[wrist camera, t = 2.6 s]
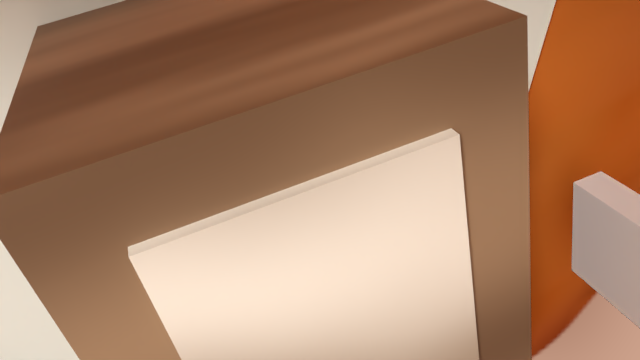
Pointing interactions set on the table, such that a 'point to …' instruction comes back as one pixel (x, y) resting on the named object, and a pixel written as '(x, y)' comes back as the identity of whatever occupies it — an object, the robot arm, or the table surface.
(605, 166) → the table surface
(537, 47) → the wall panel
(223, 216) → the wooden box
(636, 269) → the robot arm
